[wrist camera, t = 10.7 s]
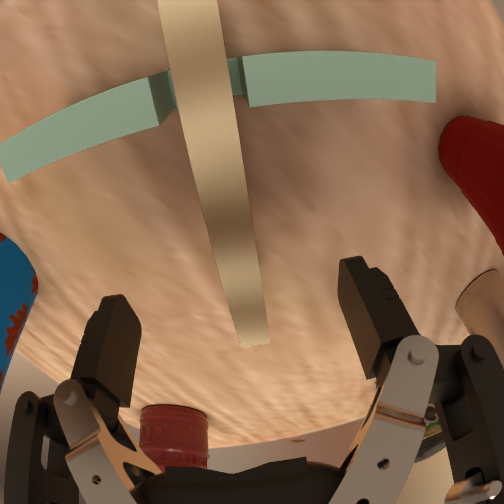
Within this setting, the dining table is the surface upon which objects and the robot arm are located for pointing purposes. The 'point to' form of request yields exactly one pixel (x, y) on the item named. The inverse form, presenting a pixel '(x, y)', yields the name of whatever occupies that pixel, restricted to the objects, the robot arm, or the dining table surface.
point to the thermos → (13, 298)
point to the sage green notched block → (242, 82)
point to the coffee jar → (430, 434)
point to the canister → (174, 436)
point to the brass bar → (216, 155)
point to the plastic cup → (477, 167)
